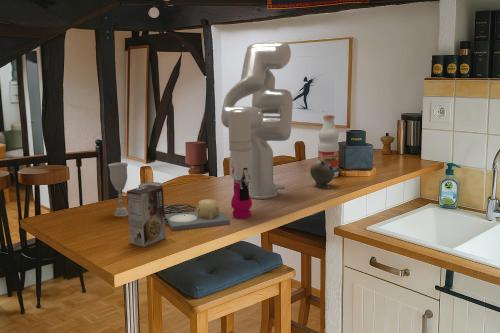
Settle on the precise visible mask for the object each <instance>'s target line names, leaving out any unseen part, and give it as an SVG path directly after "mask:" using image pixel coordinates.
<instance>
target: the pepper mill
mask: <svg viewBox="0 0 500 333" xmlns="http://www.w3.org/2000/svg"><path fill="white" fill-rule="evenodd" d="M232 174H234V169H232ZM241 180H245V179H244V178H242V179H241ZM234 182H235V193H234V192H233V195H232V198H231V200H230V206H231V208H232V209H233V210H232V217H233V218H235V219H247V218H250V217H251V216H252V210H251V208H252V206H253V201H252V200H253V199H252V198H251V197H250V195H249V200H245V201H240V198H239V189H240V182H239V181H236V180H235V179H233V183H234ZM243 183H244V182H242V185H243Z"/></svg>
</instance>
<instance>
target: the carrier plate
mask: <svg viewBox="0 0 500 333" xmlns="http://www.w3.org/2000/svg"><path fill="white" fill-rule="evenodd" d="M187 213H188V214H187ZM184 215H185V216H184ZM165 217H166V218H167V220H168V223H167V225H168V226H169V228H170V229H171V231H172V232H175V231H185V230H192V229H193V230H194V229H200V228H208V227H209V228H210V227H219V226H226V225H227V226H228V225H231V219H229V217H228V216H226V214H224V213H223V212H222V210H221V209H220V206H219V205H218V201H217V200H216V199H212V198H211V199H210V198H208V199H206V198H205V199H201V200H199V201H198V207H197V208H196V210H195V211H187V212H180V213H170V214H169V213H166V214H165Z"/></svg>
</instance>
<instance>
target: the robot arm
mask: <svg viewBox="0 0 500 333" xmlns="http://www.w3.org/2000/svg"><path fill="white" fill-rule="evenodd" d="M291 57H292V51H291V47H290V45H289V44H288V43H287V42H282V41H281V42H256V43H252V44H249V45H248V46H247V48H246V51H245V55H244V59H243V65H242V70H241V76H240V80H239V81H238V82H237V83H235V84H234V85H233V87H232V88H230V89H229V91H228V92H227V93H226V95H225V97H224V100H223V104H222V108H221V117H220V118H221V123H222V125H223V126H224V127H225V128H226V129H227V128H228V150H229V152H230V153H229V177H231V178H232V179H233V180H234V179H235V180H236V181H239V182H240V189H239V198H240V201H245V200H249V195H250V197H251V199H254V200H257V199H258V200H265V199H266V200H267V199H273V198H275V197H277V196H278V190H285V189H286V185H285V184H279V183H278V184H276V183H274V151H273V149H272V146H270V145H271V144H269V143H268V142H269V141H270V142H271V141H273V142H285V141H287V140H290V137H291V133H292V122H293V107H294V106H293V104H294V101H293V96H292V92H291V91H290V90H288V89H284V88H283V89H282V88H279V89H278V88H275V86H276V77H275V75H274V74H273V72H272V70H281V69H284V68H285V67H286V66H287V65H288V64H289V62H290V61H291ZM250 95H252V97H251V98H252V99H251V106H236V104H237V103H238V102H239V101H240V100H242V99H243V98H246V97H249V96H250ZM264 114H266V115H264ZM267 114H268V115H267ZM271 114H272V115H271ZM278 114H279V115H278ZM275 115H276V116H275ZM232 169H234V174H232ZM242 178H244V179H245V180H241V179H242ZM242 182H244V183H243V185H242ZM234 193H235V182H234V181H233V194H234Z"/></svg>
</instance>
